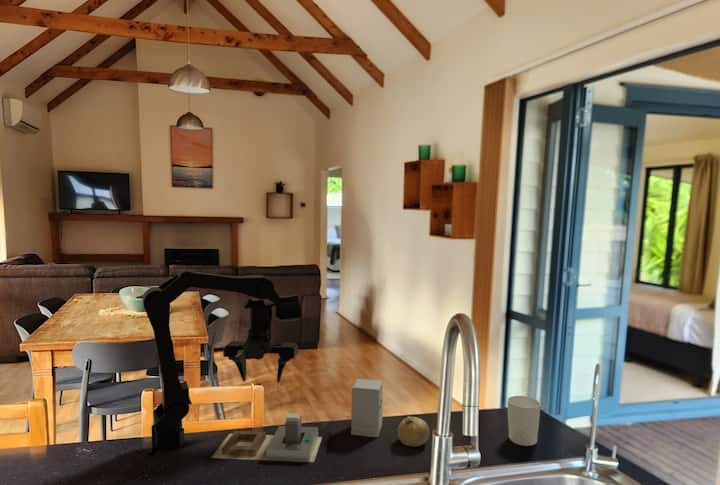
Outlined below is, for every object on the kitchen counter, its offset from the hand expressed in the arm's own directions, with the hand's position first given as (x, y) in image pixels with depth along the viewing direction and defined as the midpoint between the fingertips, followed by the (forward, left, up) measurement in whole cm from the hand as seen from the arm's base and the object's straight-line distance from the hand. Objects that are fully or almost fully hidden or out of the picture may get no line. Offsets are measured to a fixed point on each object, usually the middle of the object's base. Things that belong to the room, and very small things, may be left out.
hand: (261, 381), depth 124 cm
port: (+11, -11, -13) cm, 20 cm away
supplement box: (+28, +2, -13) cm, 31 cm away
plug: (+11, -11, -12) cm, 20 cm away
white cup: (+68, 0, -13) cm, 69 cm away
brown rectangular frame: (-1, -11, -13) cm, 17 cm away
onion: (+40, -4, -13) cm, 42 cm away
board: (+5, -11, -13) cm, 18 cm away
